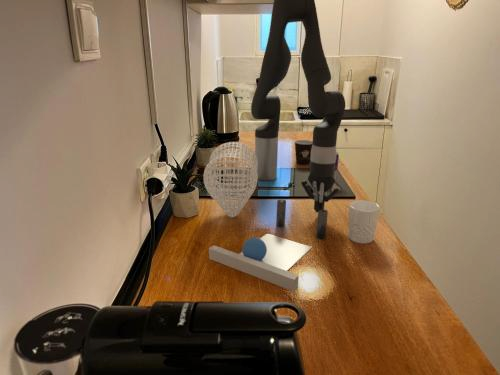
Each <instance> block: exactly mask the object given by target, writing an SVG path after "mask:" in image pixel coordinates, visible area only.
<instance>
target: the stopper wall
mask: <svg viewBox="0 0 500 375" xmlns="http://www.w3.org/2000/svg"><path fill="white" fill-rule="evenodd" d="M208 259H209V260H212V261H214V262H217V263H219V264H222V265H225V266H227V267H229V268H232V269H235V270H237V271H240V272H242V273H245V274H248V275H250V276H253V277H255V278H258V279H261V280H263V281H265V282H269V283H271V284H274V285H276V286H279V287H281V288H284V289H286V290H289V291H291V292H295V291H296V290H297V289H298V287H299V277H300V276H299V275H298V274H295V273H292V272H289V271H285V270H282V269H279V268H276V267H273V266H271V265H268V264H265V263H262V262H259V261H257V260H254V259H251V258H248V257H246V256H243V255H240V253H238V252H234V251H231V250H228V249H226V248H223V247H220V246H217V245H212V246H210V247H208Z"/></svg>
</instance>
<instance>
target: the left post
mask: <svg viewBox="0 0 500 375" xmlns="http://www.w3.org/2000/svg"><path fill="white" fill-rule="evenodd" d="M286 204H287V201H286V200H285V199H283V198H282V199H277V201H276V218H275V219H276V221H275V222H276V227H277V228H281V229H282V228H285V227H286V211H287V210H286V209H287V208H286V206H287V205H286Z"/></svg>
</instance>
